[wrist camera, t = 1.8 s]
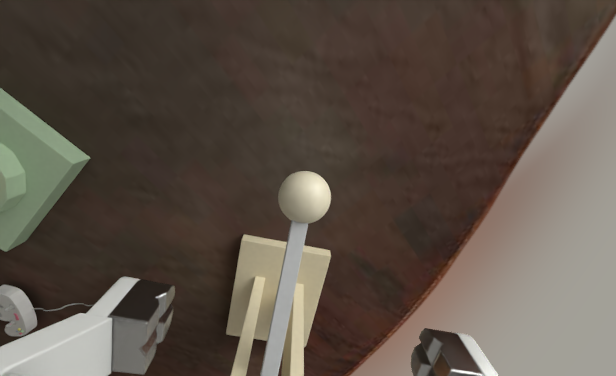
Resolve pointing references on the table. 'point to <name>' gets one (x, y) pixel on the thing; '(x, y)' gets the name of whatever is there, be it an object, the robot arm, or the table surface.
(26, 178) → the button block
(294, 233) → the lever
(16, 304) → the game controller
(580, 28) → the table surface
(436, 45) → the table surface
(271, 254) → the bracket
